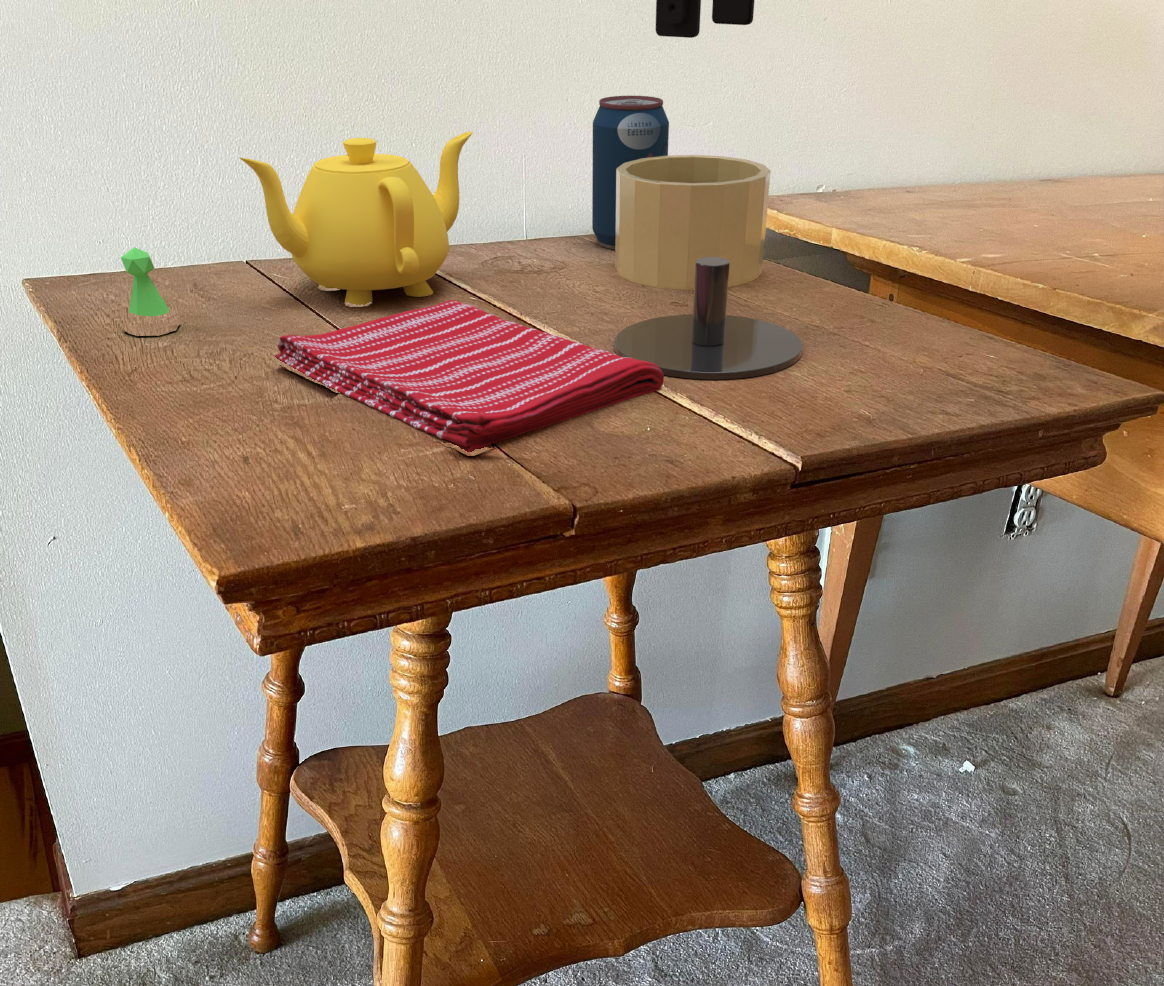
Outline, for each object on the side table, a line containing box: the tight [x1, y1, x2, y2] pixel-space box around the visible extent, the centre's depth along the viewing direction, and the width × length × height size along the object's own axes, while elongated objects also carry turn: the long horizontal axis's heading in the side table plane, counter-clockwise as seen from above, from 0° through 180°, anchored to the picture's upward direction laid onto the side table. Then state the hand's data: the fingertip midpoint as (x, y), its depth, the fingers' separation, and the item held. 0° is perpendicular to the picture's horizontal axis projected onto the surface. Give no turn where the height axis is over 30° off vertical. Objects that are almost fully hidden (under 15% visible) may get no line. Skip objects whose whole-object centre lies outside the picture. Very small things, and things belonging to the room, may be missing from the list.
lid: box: [613, 257, 804, 381], centre depth 85 cm, size 14×14×7 cm
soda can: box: [591, 95, 670, 250], centre depth 110 cm, size 7×7×12 cm
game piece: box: [120, 247, 170, 316], centre depth 91 cm, size 4×4×6 cm
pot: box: [614, 154, 771, 291], centre depth 102 cm, size 13×13×8 cm
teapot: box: [238, 131, 473, 305], centre depth 97 cm, size 20×15×12 cm
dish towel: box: [274, 299, 665, 452], centre depth 82 cm, size 17×24×3 cm
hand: (705, 29), depth 88 cm, fingers open, 9 cm apart
